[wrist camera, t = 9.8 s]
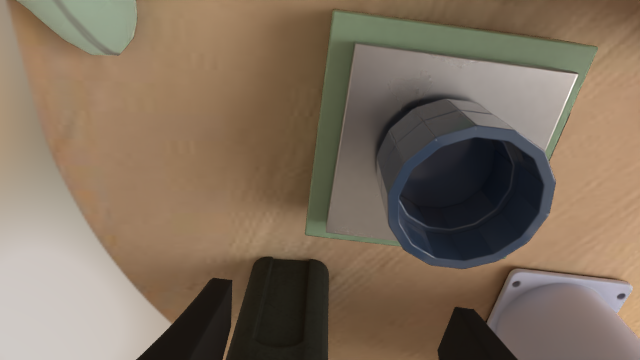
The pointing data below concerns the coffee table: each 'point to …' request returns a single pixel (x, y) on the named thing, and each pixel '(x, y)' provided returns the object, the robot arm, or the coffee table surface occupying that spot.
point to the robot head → (89, 22)
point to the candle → (283, 312)
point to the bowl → (462, 184)
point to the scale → (427, 38)
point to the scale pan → (417, 90)
